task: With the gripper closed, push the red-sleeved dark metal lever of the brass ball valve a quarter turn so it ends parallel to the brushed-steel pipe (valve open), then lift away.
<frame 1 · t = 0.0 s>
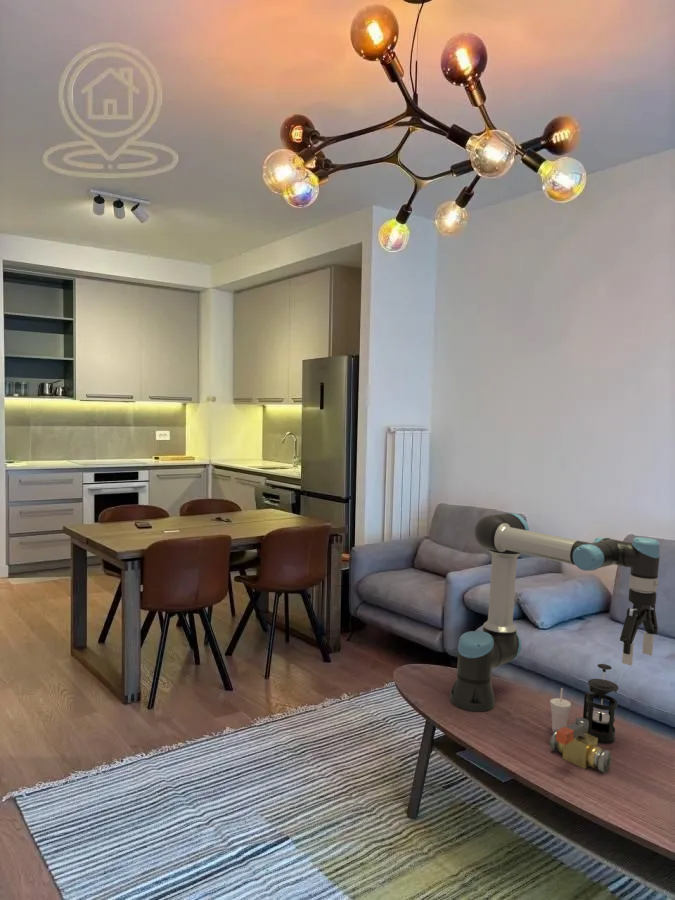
hand: (637, 659, 203), 28 cm above the table, fingers open, 13 cm apart
smoothie: (558, 732, 214), on the table
french press: (597, 736, 212), on the table
lever: (573, 730, 193), point 10 cm above the table, hinge at 0.0°
pipe valve: (579, 760, 197), on the table
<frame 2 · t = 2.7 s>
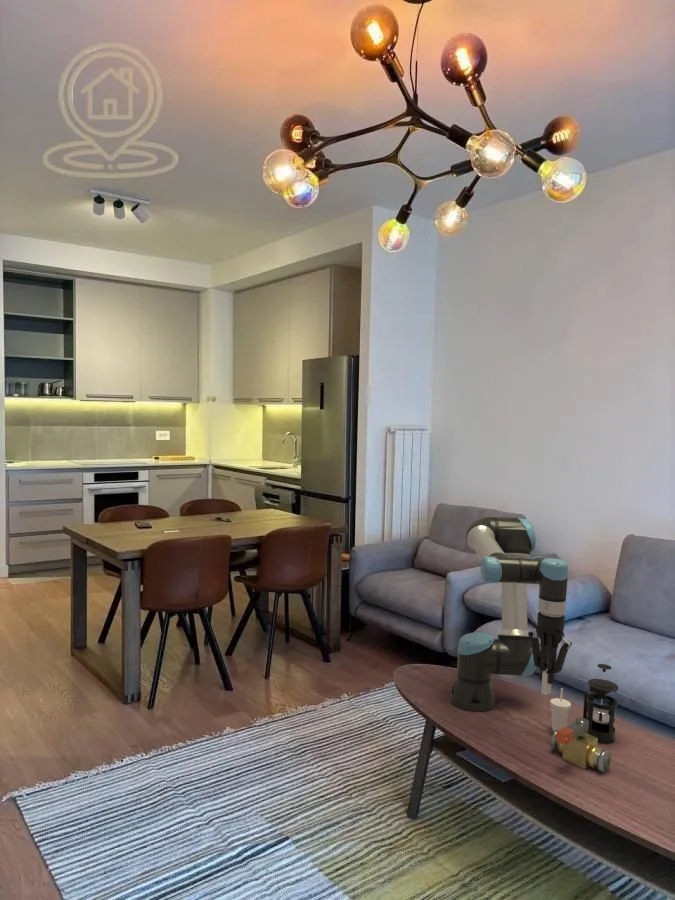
hand: (545, 693, 195), 20 cm above the table, fingers closed
nothing on the table moved.
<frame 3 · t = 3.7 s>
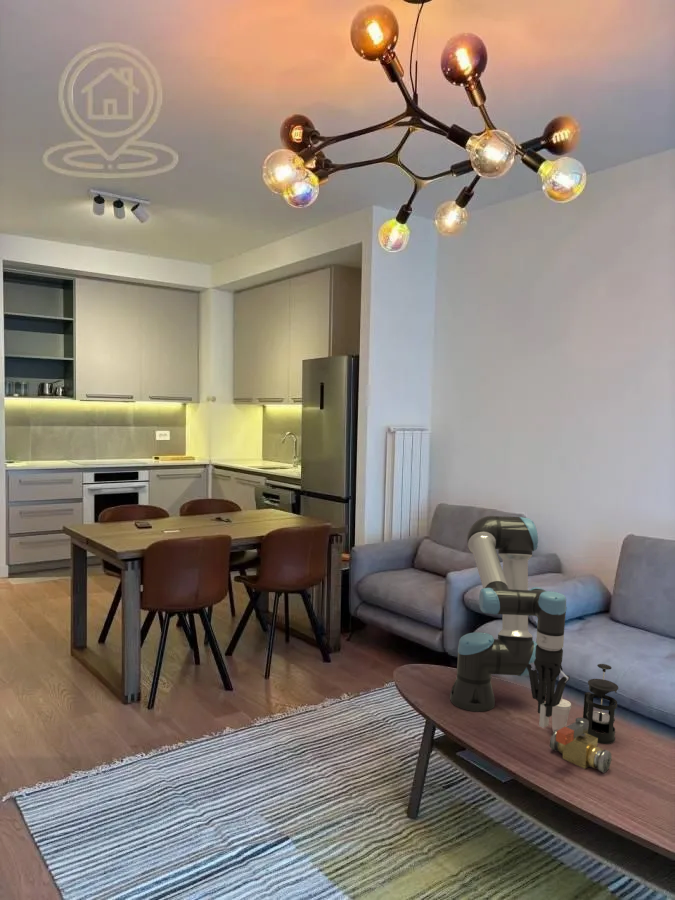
hand: (543, 725, 196), 10 cm above the table, fingers closed
nothing on the table moved.
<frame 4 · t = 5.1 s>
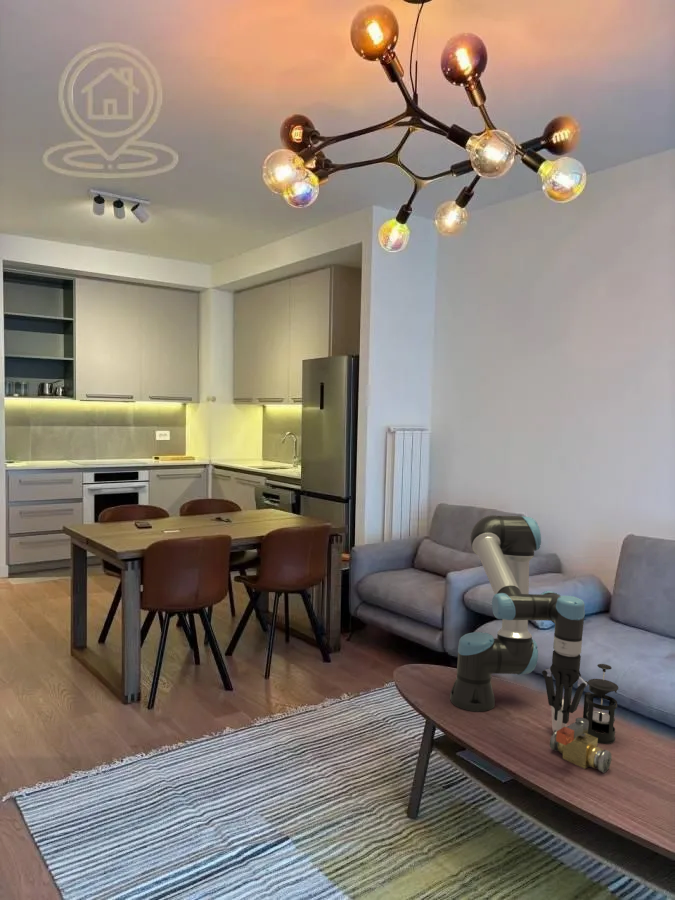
hand: (560, 732, 192), 10 cm above the table, fingers closed
lever: (573, 730, 193), point 10 cm above the table, hinge at 0.5°, touching gripper
everything else where it was.
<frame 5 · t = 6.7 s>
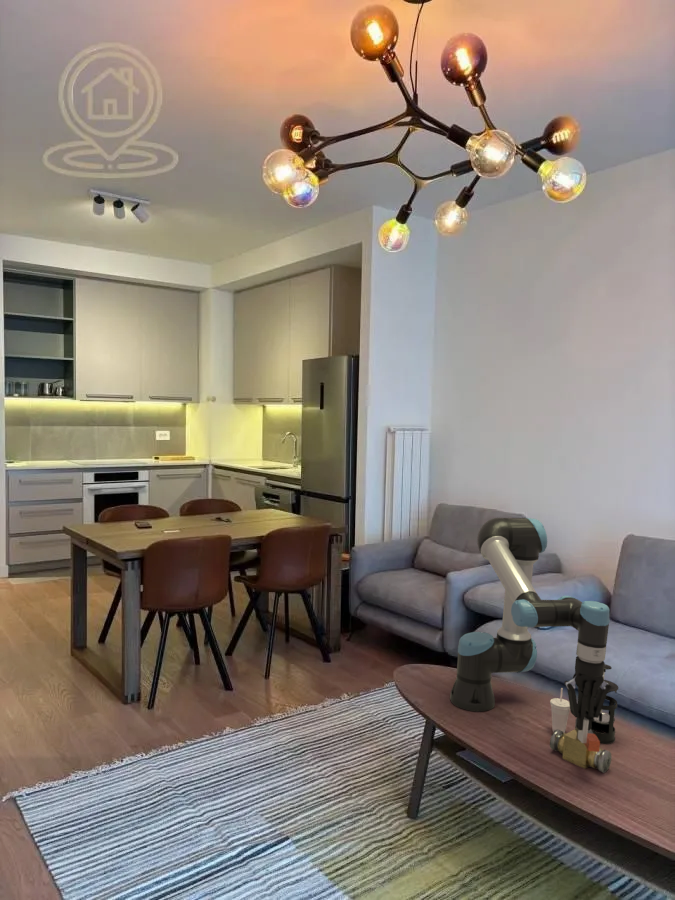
hand: (582, 740, 188), 10 cm above the table, fingers closed
lever: (586, 733, 191), point 10 cm above the table, hinge at 44.4°, touching gripper
everything else where it was.
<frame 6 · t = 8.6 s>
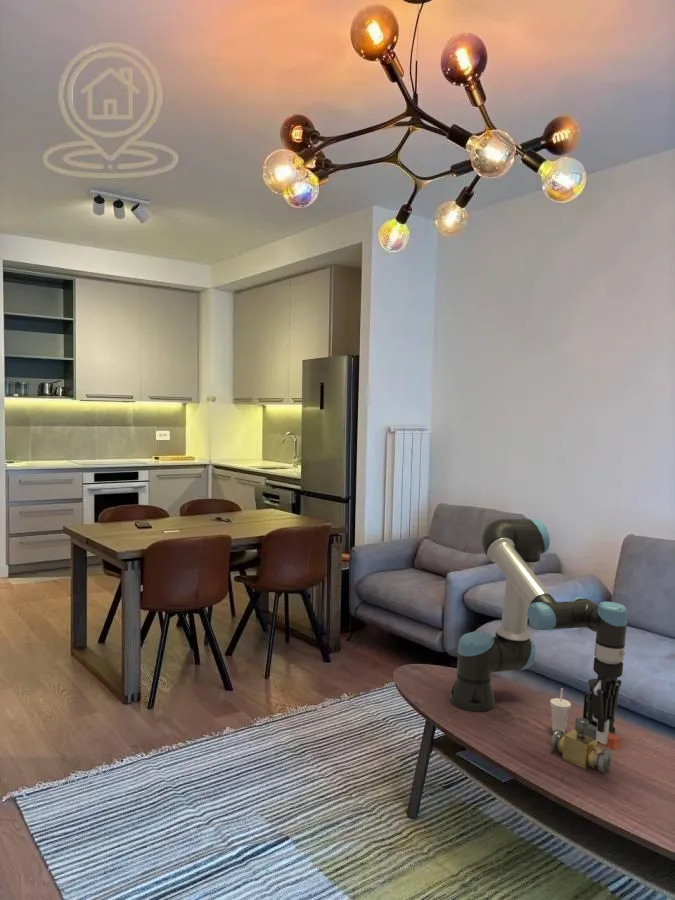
hand: (601, 741, 188), 10 cm above the table, fingers closed
lever: (596, 733, 192), point 10 cm above the table, hinge at 81.3°, touching gripper
everything else where it was.
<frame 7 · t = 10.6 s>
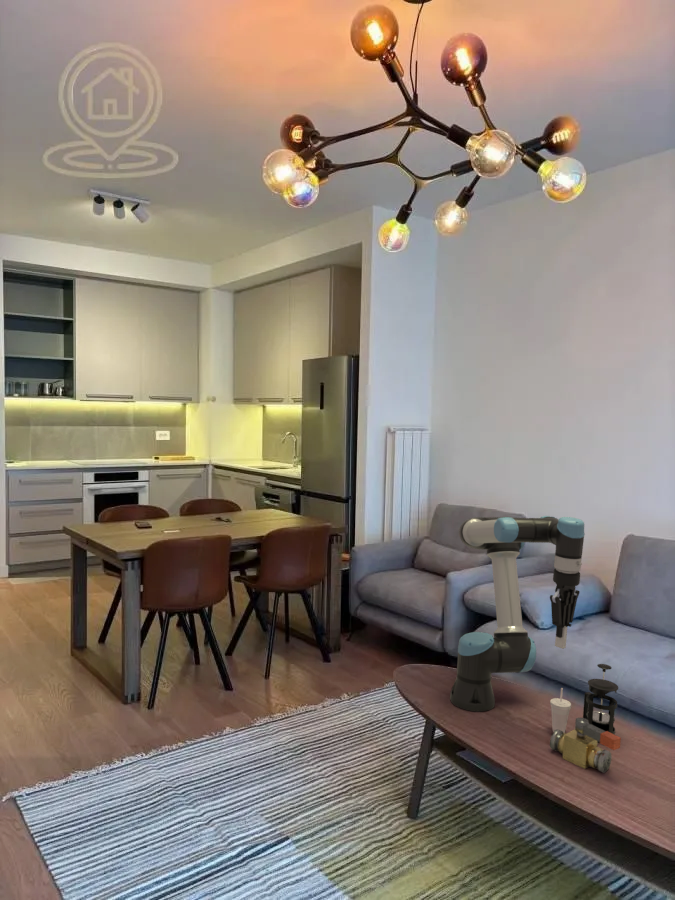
hand: (560, 646, 202), 31 cm above the table, fingers closed
lever: (596, 733, 192), point 10 cm above the table, hinge at 81.3°
everything else where it was.
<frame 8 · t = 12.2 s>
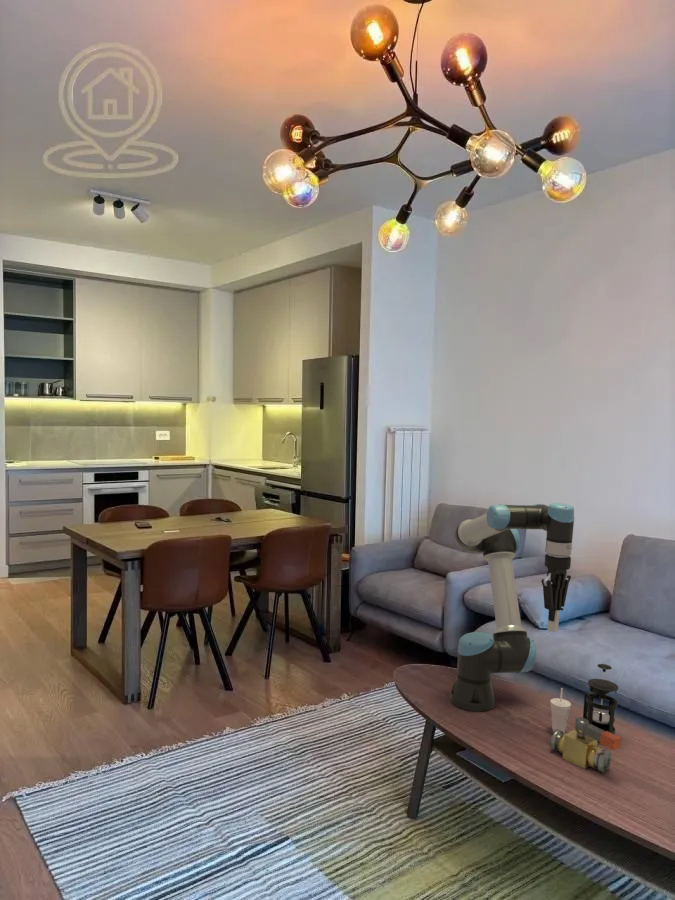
hand: (552, 630, 206), 34 cm above the table, fingers closed
nothing on the table moved.
at the end: lever at +81° (first picture: +0°) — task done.
